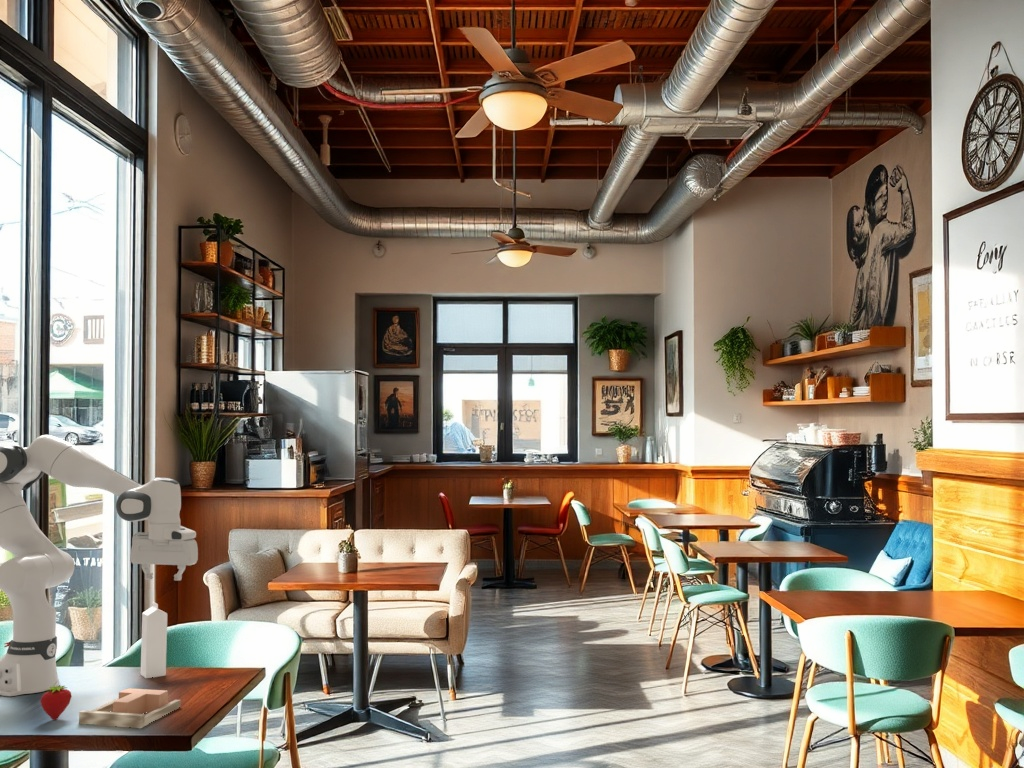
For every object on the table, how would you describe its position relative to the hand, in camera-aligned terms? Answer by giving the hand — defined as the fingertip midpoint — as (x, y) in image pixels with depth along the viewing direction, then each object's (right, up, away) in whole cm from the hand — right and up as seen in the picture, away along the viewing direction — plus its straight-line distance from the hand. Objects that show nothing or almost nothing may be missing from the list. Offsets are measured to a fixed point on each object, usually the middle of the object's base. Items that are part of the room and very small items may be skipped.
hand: (163, 579), depth 264 cm
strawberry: (-15, -29, -33) cm, 46 cm away
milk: (-8, -32, +12) cm, 35 cm away
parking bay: (+3, -29, -28) cm, 41 cm away
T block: (+3, -29, -28) cm, 41 cm away
